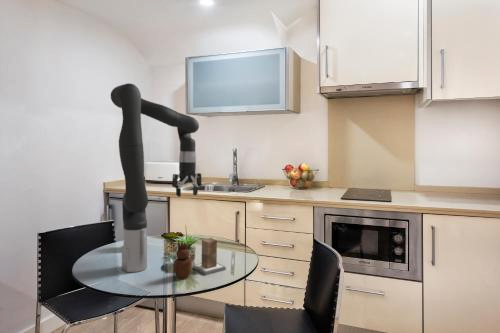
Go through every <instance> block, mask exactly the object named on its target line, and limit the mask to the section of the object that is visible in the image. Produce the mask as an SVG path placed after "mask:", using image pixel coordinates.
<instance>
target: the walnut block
mask: <svg viewBox="0 0 500 333" xmlns="http://www.w3.org/2000/svg"><path fill="white" fill-rule="evenodd" d="M217 250H218V240H217V239H214V238H211V237H209V238H205V239H201V263H202V266H203V267H205V268H207V269H208V268H212V267H216V266H217V263H218V262H217V260H218V259H217V257H218V251H217Z"/></svg>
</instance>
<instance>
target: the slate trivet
mask: <svg viewBox="0 0 500 333" xmlns="http://www.w3.org/2000/svg"><path fill="white" fill-rule="evenodd" d="M226 268H227V267H226V266H225V265H223V264H221V263H219V262H217V266H216V267H212V268H208V269H207V268H205V267H203V266H202V262H200V263H197V264H192V269H193V270H195V271H197V272H199V273H201V274H202V275H204V276H207V275H208V276H209V275H212V274H216V273H220V272H223V271H226V270H227V269H226Z"/></svg>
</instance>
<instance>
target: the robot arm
mask: <svg viewBox="0 0 500 333" xmlns="http://www.w3.org/2000/svg"><path fill="white" fill-rule="evenodd" d="M110 100H111V102H112V103H113V105H114V106H116V107H118V108H120V109H121V113H122V124H121V128H120V129H121V130H120V133H119V136H118V151H119V158H120V165H121V168H122V172H123V176H124V181H125V185H124V186H125V192H124V194H123V196H122V203H121V204H122V207H121V208H122V222H123V227H122V228H123V245H122V246H121V269H122V270H123V271H124V272H126V273H136V272H137V273H139V272H142V271H144V270H146V269H147V268H148V220H147V214H146V212H147V211H146V208H147V207H148V203H149V198H148V193H147V186H146V182H145V157H144V156H145V154H144V142H143V130H142V129H143V128H142V118H141V117H142V115H144V116H146V117H149V118H151V119H154V120H155V121H158V122H161V123H162V124H164V125H168V126H170V127H172V128H173V127H175V128H176V129H177V134H178V138H179V158H178V159H179V160H178V164H179V166H178V171H179V172H178V174H176V173H173V174H172V181H171V182H172V183H171V187H173V188H175V195H176V196H177V197H179V198H180V197H181V196H182V194H181V193H182V192H181V188H182V186H184V184H191V185H192V186H193V187H192V196H197V195H198V192H199V189H198V188H199V187H201V186H202V185H203V184H202V173H200V172H197V169H196V168H197V166H196V164H197V162H196V161H197V160H196V159H197V155H196V140H195V139H194V138H192V134H193V133H194V134H195V133H196V132H197V131H198V130H199V128H200V124H199V122H198V120H197V119H196V118H194V117H193V116H190V115H188V114H184V113H181V112H178V111H176V110H174V109H172V108H171V107H168V106H165V105H164V104H161V103H157V102H153V101H149V100H146V99H144V98H142V95H141V91H140V89H139V88H138V86H137V85H136V84H133V83H125V84H121V85H117V86H116V87H113V89H111V92H110ZM195 178H196V179H195Z"/></svg>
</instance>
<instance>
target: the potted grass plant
mask: <svg viewBox="0 0 500 333" xmlns="http://www.w3.org/2000/svg"><path fill="white" fill-rule="evenodd" d="M175 255H176V259H175V260H174V262H173V270H174V271H173V272H174V275H175V276H176V278H178V279H186V278H188V277H189V276H190V274H191V272H192V268H193V263H192V260H191V258H190V250H189V249H188V245H187V244H186V243H185V242H184V241H183V240H181V242H180V239H178V240H177V250H176V254H175Z"/></svg>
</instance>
